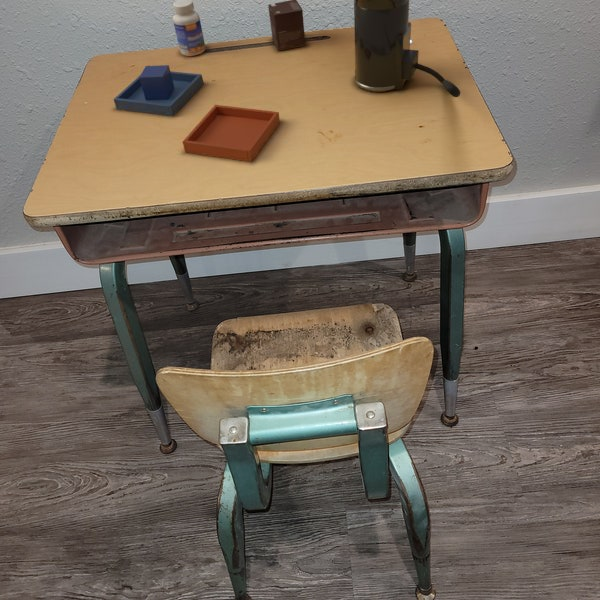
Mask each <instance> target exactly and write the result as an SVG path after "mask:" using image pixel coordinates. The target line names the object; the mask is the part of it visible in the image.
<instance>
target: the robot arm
mask: <svg viewBox="0 0 600 600" xmlns="http://www.w3.org/2000/svg"><path fill="white" fill-rule="evenodd" d="M353 11H354V12H353V19H354V20H353V21H354V23H353V24H354V83H355V84H356V86H357V87H358V88H360V89H362V90H364V91H368V92H375V93H377V92H379V93H381V92H382V93H383V92H390V91H394V90H396V91H397V90H398V91H399V90H400V91H401V90H402V89H403V87H404V85H405V83H406V82H407V81H412V79H413V78H414V76H415V74H416V71H417V70H418V71H421V72H424V73H427V74H429V75H431V76H432V77H434V78H435V79H436V80H438V82H439V83H440V84H441V86H442V88H443V89H444V90H445V91H446V92H447V93H448V94H449V95H450V96H452V97H453V98H458V97H460V95H461V90H460V89H459V88H458V87H457V86H456V85H455V84H454V83H453V82H451V81H449V80H448V79H445V78H444V76H442V75H441V74H440V73H439V72H438V71H437V70H435V69H433V68H431V67H429V66H426V65H423V64H421V63H419V52H420V51H419V50H418V49H411V43H412V42H413V41H412V39H411V38H412V23H411V22H409V20H410V19H409V17H410V15H409V14H410V0H353Z"/></svg>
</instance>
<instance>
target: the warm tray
mask: <svg viewBox="0 0 600 600" xmlns="http://www.w3.org/2000/svg"><path fill="white" fill-rule="evenodd" d="M280 123H281V120H280V112H279V111H274V110H273V111H272V110H263V109H255V108H248V107H247V108H246V107H238V106H229V105H221V104H214V105H213V106H212V107H211V109H210V110H209V111H208V112H207V113H206V114H205V115H204V116H203V118H202V119H201V120H200V121H199V123H197V125H195V127H194V128H193V129H192V130H191V131H190V132H189V133H188V135H187V136H186V137H185V138H184V139H183V140H182V146H183V149H184V153H188V154H194V155H195V154H196V155H203V156H210V157H215V158H223V159H228V160H229V159H230V160H236V161H245V162H249V163H250V162H251V163H252V162H253V161H254V160H255V158H256V156H257V155H258V154H259V153H260V151H261V150H262V148H263V147H264V145H265V144H266V143H267V142H268V140H269V138H270V137H271V136H272V135H273V133H274V132H275V130H276V129H277V127H278V126H279V124H280Z"/></svg>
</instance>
